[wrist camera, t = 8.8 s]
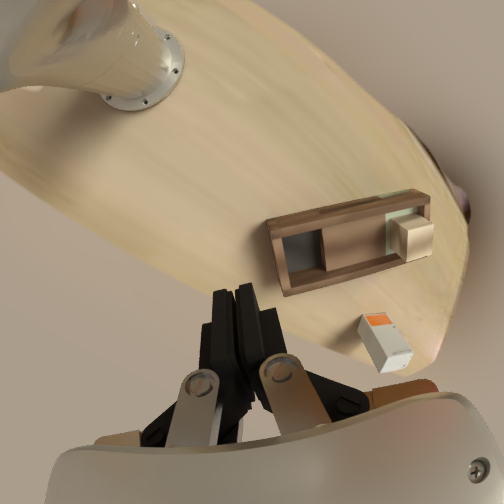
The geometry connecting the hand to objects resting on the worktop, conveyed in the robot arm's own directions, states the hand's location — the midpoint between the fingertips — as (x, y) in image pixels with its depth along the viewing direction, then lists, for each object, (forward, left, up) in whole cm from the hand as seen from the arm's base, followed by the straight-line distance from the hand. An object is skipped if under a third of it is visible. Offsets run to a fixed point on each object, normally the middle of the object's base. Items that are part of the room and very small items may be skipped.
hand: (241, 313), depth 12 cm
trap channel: (+11, +16, -27) cm, 33 cm away
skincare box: (+31, +20, -27) cm, 46 cm away
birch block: (+11, +24, -24) cm, 36 cm away
